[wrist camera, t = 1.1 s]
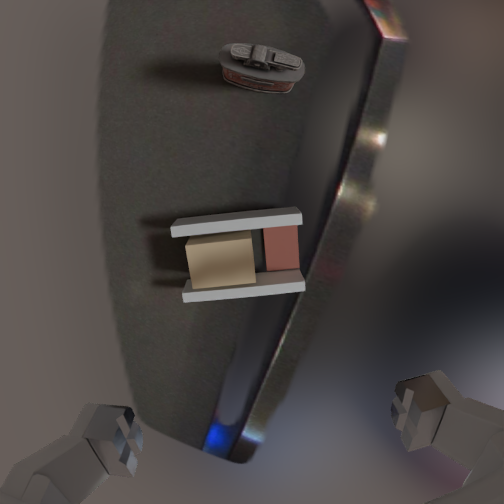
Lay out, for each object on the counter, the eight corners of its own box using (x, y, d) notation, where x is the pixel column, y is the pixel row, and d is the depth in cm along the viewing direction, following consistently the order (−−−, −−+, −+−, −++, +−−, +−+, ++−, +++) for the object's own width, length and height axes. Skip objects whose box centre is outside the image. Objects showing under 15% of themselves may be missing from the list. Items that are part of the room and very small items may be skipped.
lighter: (219, 84, 33) (212, 62, 23) (226, 58, 32) (221, 28, 22) (289, 99, 34) (306, 82, 24) (295, 73, 33) (314, 48, 23)
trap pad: (262, 221, 38) (262, 221, 38) (296, 218, 38) (296, 218, 38) (266, 270, 40) (266, 271, 40) (298, 267, 40) (299, 268, 40)
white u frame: (177, 218, 38) (170, 226, 34) (295, 206, 38) (301, 213, 34) (188, 288, 40) (183, 302, 37) (299, 277, 41) (305, 290, 37)
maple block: (191, 233, 38) (185, 245, 34) (250, 226, 38) (251, 238, 34) (198, 272, 40) (192, 289, 35) (254, 266, 40) (256, 282, 35)
